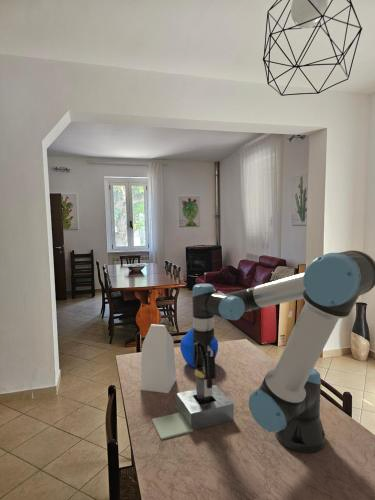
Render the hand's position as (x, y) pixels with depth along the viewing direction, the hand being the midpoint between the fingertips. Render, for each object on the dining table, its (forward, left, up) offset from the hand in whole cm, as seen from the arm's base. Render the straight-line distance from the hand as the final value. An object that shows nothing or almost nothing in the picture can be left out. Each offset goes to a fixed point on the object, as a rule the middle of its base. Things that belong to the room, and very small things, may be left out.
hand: (204, 390), depth 118 cm
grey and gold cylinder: (0, 0, -7) cm, 7 cm away
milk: (+27, +9, -9) cm, 30 cm away
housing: (0, 0, -9) cm, 9 cm away
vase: (+39, -15, -9) cm, 43 cm away
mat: (-2, +13, -9) cm, 16 cm away
